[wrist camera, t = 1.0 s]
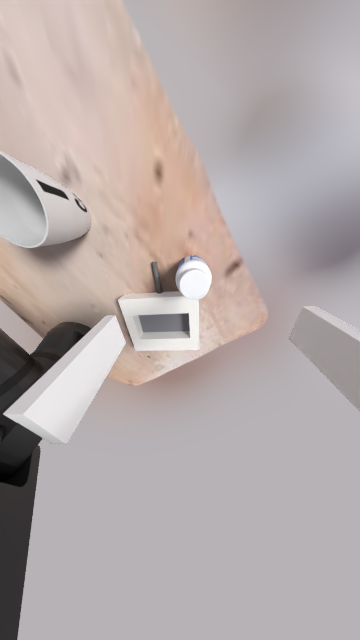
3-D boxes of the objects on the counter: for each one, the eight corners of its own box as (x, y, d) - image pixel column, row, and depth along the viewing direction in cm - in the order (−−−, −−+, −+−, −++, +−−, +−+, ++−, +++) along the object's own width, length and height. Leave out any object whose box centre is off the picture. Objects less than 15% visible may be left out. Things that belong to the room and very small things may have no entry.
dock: (139, 342, 37) (135, 350, 34) (114, 265, 26) (106, 268, 24) (198, 341, 35) (199, 349, 32) (197, 258, 25) (198, 261, 22)
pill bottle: (184, 288, 28) (182, 310, 19) (173, 262, 25) (165, 275, 17) (210, 277, 26) (219, 296, 18) (201, 249, 24) (207, 256, 15)
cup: (106, 207, 21) (52, 189, 13) (93, 253, 25) (44, 262, 17) (53, 166, 19) (-54, 112, 11) (46, 223, 23) (-36, 215, 15)
